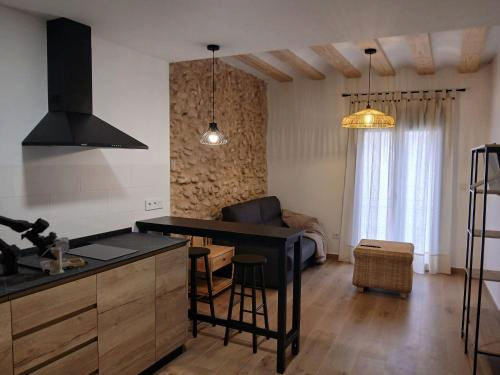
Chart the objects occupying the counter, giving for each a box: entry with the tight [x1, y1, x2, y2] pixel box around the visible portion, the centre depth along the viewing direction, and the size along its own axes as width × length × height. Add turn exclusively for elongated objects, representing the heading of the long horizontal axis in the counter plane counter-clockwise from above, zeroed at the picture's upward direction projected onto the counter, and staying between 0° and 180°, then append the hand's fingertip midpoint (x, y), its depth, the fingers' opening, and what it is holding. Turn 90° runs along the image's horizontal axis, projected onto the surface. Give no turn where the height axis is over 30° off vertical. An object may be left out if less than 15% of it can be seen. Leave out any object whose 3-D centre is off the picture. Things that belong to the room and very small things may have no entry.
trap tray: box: [66, 257, 86, 268], centre depth 229 cm, size 8×10×2 cm
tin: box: [53, 241, 71, 255], centre depth 248 cm, size 15×3×8 cm, turn 141°
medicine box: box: [55, 236, 70, 245], centre depth 258 cm, size 8×4×9 cm, turn 163°
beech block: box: [49, 247, 63, 273], centre depth 213 cm, size 5×5×13 cm
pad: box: [48, 268, 65, 276], centre depth 214 cm, size 7×7×1 cm
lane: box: [39, 258, 69, 272], centre depth 223 cm, size 14×10×3 cm
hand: (58, 257), depth 214 cm, fingers open, 9 cm apart
